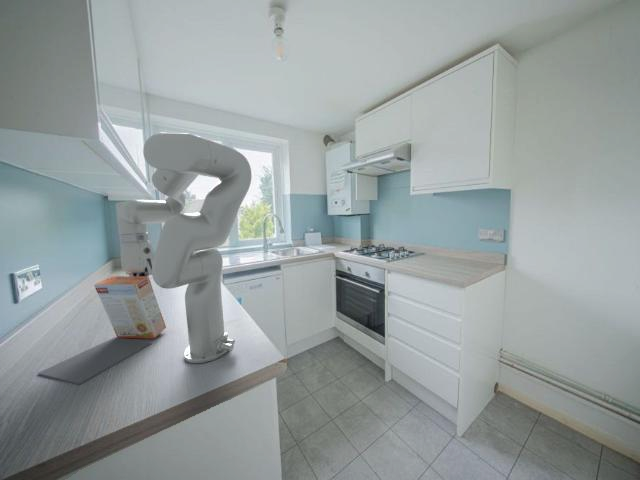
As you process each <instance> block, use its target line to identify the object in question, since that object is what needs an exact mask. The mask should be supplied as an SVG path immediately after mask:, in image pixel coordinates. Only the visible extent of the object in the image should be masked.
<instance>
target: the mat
mask: <svg viewBox="0 0 640 480" xmlns="http://www.w3.org/2000/svg"><path fill="white" fill-rule="evenodd" d="M152 344H153V343H152V342H149V341H143V340H137V339H132V338H118V337H117V336H114V337H112V338H110V339H108V340H106V341H104V342H101V343H99V344H97V345H95V346H93V347H91V348H89V349H86V350H84V351H83V352H80V353H78V354H76V355H74V356H71V357H70V358H69V357H68V359H67V358H66V359H65V360H63V361H61V362H59V363H56V364H54V365H52V366H50V367H48V368H46V369H44V370H42V371H39V372H37V375H38V376H42V377H47V378H50V379H51V378H52V379H54V380H59V381H64V382H67V383H71V384H75V385H81V384H83V383H85V382H87V381H89V380H91V379H92V378H94V377H96V376H98V375H99V374H101V373H103V372H104V371H107V370H108V369H110V368H112V367H114V366H115V365H117V364H119V363H120V362H122V361H124V360H126V359H127V358H130V357H132V356H133V355H135V354H136V353H139V352H140V351H142V350H143V349H145V348H147V347H149V346H150V345H152Z"/></svg>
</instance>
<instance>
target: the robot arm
mask: <svg viewBox="0 0 640 480" xmlns="http://www.w3.org/2000/svg"><path fill="white" fill-rule="evenodd" d="M142 148H143V150H142V152H143V157H144V160H145V162H146V163H147V164H148V165H149V166H150V167H152V168H154V169H156V170H155V171H154V173H153V174H152V175H151V182H152V185H153V186H154V187H155V189H156V190H158V191H159V193H161V194H163V195H165V196H166V197H167V198H166V199H165V200H154V199H153V200H152V199H130V200H127V201H120V202H117V203H116V204H115V213H116V220H117V228H118V235H119V236H118V237H119V244H120V264H121V269H122V271H123V272H125V274H126V276H127V275H128V276H148V277H150V276H152V279H153V282H154V283H155V284H156V285H157V286H158V287H160V288H163V289H165V290H166V289H168V290H169V289H176V288H179V287H183V286H185V285H187V286H186V290H185V292H184V293H185V295H184V303H185V315H186V324H187V327H186V328H187V337H188V347H186V348H185V350H184V352H183V358H184V360H185V361H186V362H188V363H191V364H202V363H207V362H212V361H215V360H217V359H218V358H221V357H222V356H224V355H225V354H226V353H227V352H232V351H233V350H234V346H235V343H236V341H235V340H236V339H231V338H229V335H228V332H225V325H224V324H225V323H224V310H223V300H222V299H223V298H222V295H223V294H222V272H223V266H224V265H223V261H224V260H223V256H222V254H221V252H220V251H219V249H217V248H218V247H219V248H220V247H221V246H223V245H224V244H225V243H226V241H227V240H228V237H229V236H230V232H231V231H232V228H233V226H234V223H235V220H236V218H237V215H238V212H239V210H240V207H241V205H242V203H243V202H244V199H245V197H246V195H247V194H248V192H249V189H250V186H251V184H252V168H251V165H250V163H249V160H248V159H247V158H246V156H245V155H244V154H243V153H241V152H240V151H239V150H237V149H235V148H233V147H231V146H228V145H227V144H222V143H220V142H216V141H214V140H211V139H208V138H205V137H203V136H200V135H197V134H192V133H186V132H174V133H173V132H156V133H154V134H152V135H151V136H149V137H148V138H147V139H146V141H145V142H144V144H143V147H142ZM199 176H203V177H209V178H213V179H214V178H216V179H219V181H218V182H217V183H216V184H215V185H214V186H212V187H211V189H210V190H209V191H208V192H207V193H206V195H205V197H204V200H203V204H202V206H201V208H200V210H199V211H197V212H193V213H192V212H191V213H190V212H189V213H187V212H183V211H184V209H185V206H186V195H185V191H187V189H188V188H189V186H190V185H191V184H192V183H193V182H194V181H195V180H196V179H197V178H198V177H199ZM182 212H183V213H182ZM148 224H163V226H162V229H161V230H160V233H159V234H160V235H159V237H158V242H157V245H156V247H155V248H156V249H155V251H154V249H153V246H152V244H151V242H150V240H149V231H148V230H149V229H148Z"/></svg>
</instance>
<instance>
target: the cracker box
mask: <svg viewBox="0 0 640 480" xmlns="http://www.w3.org/2000/svg"><path fill="white" fill-rule="evenodd" d="M93 285H94V287H95V288H94V289H95V290H96V293H97V295H98V297H99V300H100V302H101V304H102V306H103V309H104V311H105V313H106V314H107V315H106V316H107V317H108V319H109V322H110V325H111V327H112V329H113V331H114V334H115V337H118V338H125V339H148V340H149V339H151V340H152V339H156V338H157V337H158V336H159V335H160V334H161V333H162V332H163V331H164V330H165V329H166V328H167V326H166V323H165V319H164V317H163V315H162V312H161V311H162V310H161V309H160V306H159V302H158V299H157V296H156V295H155V292H154V288H153V286H152V282H151V280H150V276H129V275H128V276H127V275H126V276H124V275H123V276H119V275H118V276H109V277H106V278H105V279H104V280H100V281H99V282H97V283H96V284H93Z"/></svg>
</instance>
